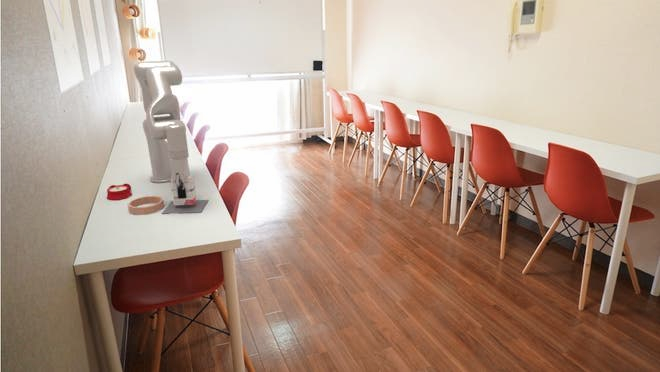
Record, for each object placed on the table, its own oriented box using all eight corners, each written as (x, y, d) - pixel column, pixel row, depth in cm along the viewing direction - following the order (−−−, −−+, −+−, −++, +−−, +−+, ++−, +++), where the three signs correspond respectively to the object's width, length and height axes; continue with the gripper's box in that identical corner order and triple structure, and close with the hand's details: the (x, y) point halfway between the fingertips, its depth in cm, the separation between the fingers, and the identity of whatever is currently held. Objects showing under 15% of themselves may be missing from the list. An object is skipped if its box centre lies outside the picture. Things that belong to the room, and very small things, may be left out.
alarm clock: (103, 195, 192) (106, 178, 203) (106, 207, 195) (109, 189, 207) (129, 191, 195) (130, 175, 207) (132, 203, 198) (132, 186, 210)
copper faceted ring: (136, 202, 191) (135, 196, 190) (167, 201, 192) (166, 195, 191) (123, 215, 179) (122, 208, 178) (157, 213, 179) (156, 207, 178)
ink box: (197, 200, 188) (193, 174, 184) (194, 205, 183) (190, 178, 179) (176, 201, 188) (173, 174, 184) (173, 205, 183) (169, 178, 179)
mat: (171, 201, 192) (171, 200, 192) (208, 200, 193) (208, 199, 193) (161, 214, 179) (161, 213, 179) (201, 212, 179) (200, 211, 179)
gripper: (175, 149, 186) (180, 189, 192) (162, 160, 170) (169, 203, 176) (193, 148, 186) (198, 188, 192) (182, 159, 170) (188, 203, 176)
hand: (184, 195), depth 184 cm, fingers closed on ink box, 5 cm apart
